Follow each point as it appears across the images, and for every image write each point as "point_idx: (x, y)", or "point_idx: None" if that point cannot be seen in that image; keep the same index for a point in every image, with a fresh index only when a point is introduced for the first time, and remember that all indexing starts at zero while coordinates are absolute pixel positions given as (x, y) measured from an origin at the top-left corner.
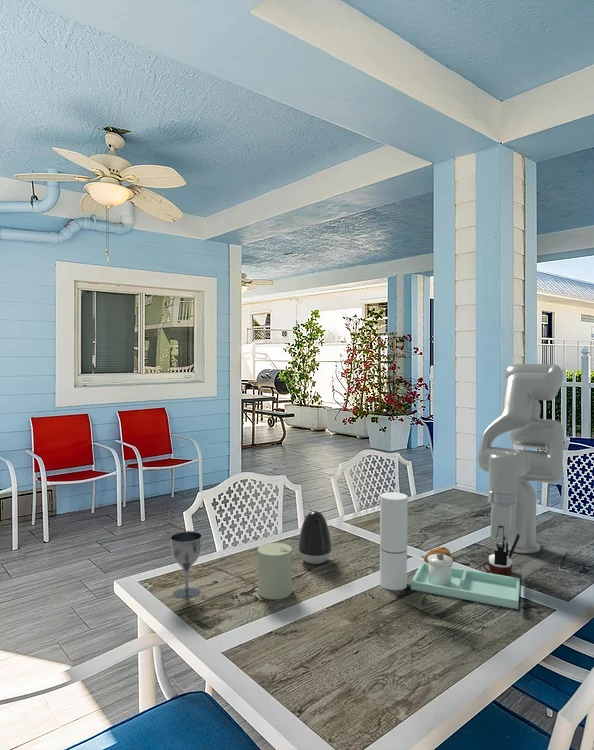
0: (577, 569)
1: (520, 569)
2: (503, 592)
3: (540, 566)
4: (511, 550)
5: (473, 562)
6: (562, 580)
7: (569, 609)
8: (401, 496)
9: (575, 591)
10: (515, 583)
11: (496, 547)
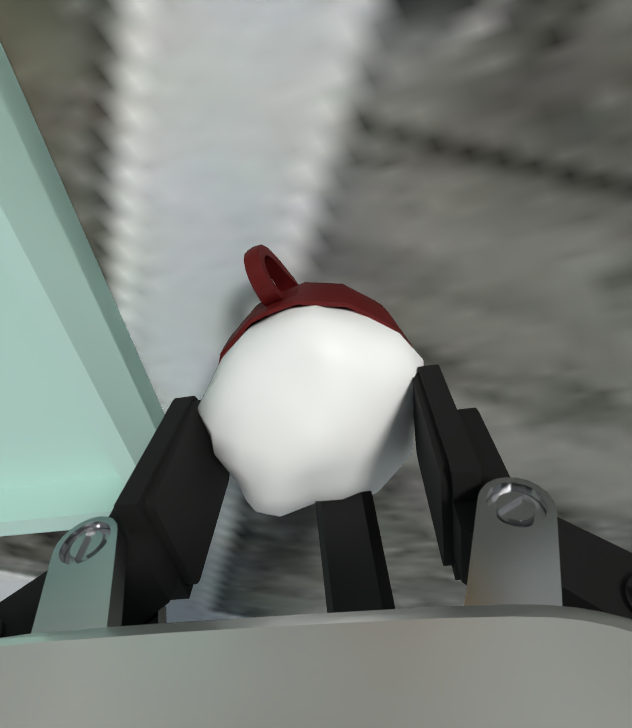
0: None
1: (506, 428)
2: (10, 431)
3: (608, 507)
4: (344, 577)
5: (514, 47)
6: (438, 589)
7: None
8: None
9: None
10: None
11: (56, 574)
